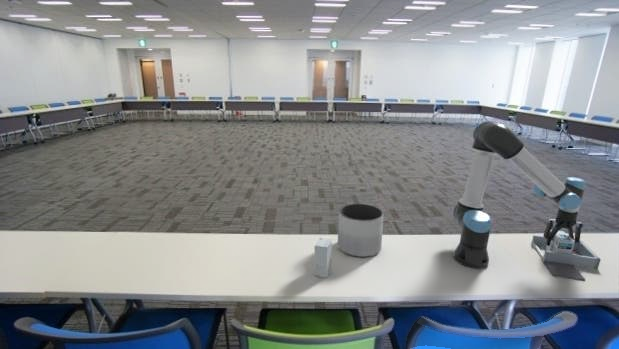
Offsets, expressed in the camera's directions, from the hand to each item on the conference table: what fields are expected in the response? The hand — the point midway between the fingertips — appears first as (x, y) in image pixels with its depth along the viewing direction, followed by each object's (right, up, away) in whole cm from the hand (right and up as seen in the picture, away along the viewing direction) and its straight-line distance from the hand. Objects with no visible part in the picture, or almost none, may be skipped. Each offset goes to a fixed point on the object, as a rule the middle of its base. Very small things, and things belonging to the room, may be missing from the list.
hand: (557, 252), depth 163 cm
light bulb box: (0, -1, 0) cm, 1 cm away
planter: (-98, +1, +5) cm, 98 cm away
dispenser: (+2, -1, 0) cm, 2 cm away
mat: (-8, -5, -14) cm, 16 cm away
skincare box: (-117, -5, -16) cm, 119 cm away
